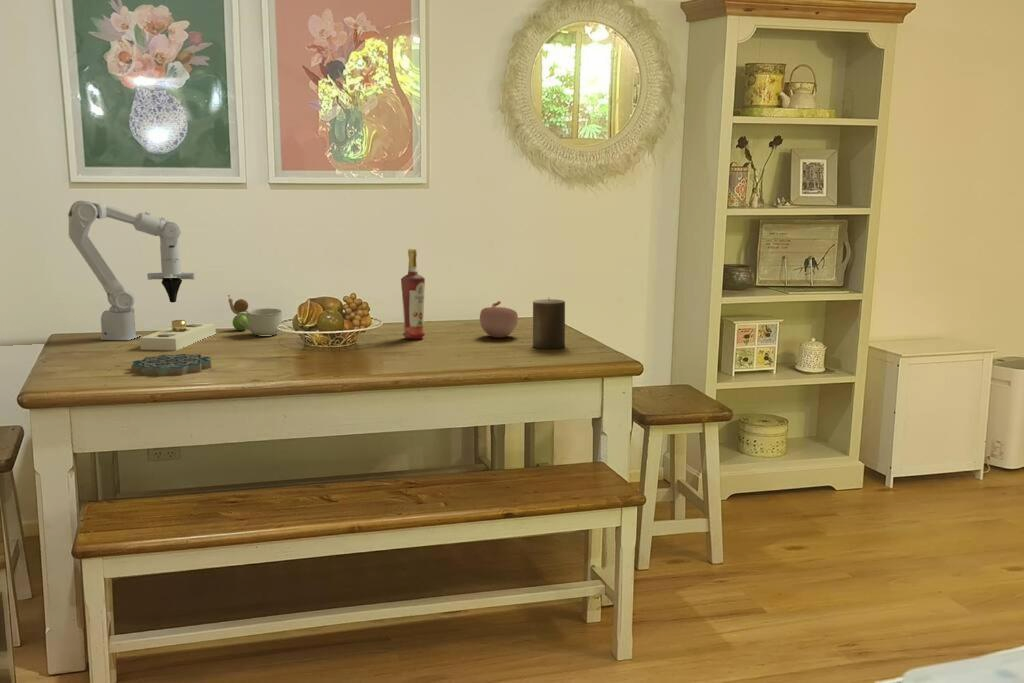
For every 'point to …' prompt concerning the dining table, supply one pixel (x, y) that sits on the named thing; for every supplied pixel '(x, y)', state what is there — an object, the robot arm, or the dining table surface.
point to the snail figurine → (237, 308)
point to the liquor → (413, 299)
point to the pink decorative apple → (498, 320)
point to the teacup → (262, 320)
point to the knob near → (165, 335)
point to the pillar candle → (549, 323)
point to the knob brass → (178, 325)
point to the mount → (177, 337)
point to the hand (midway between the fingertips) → (173, 302)
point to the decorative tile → (171, 365)
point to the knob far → (192, 325)
